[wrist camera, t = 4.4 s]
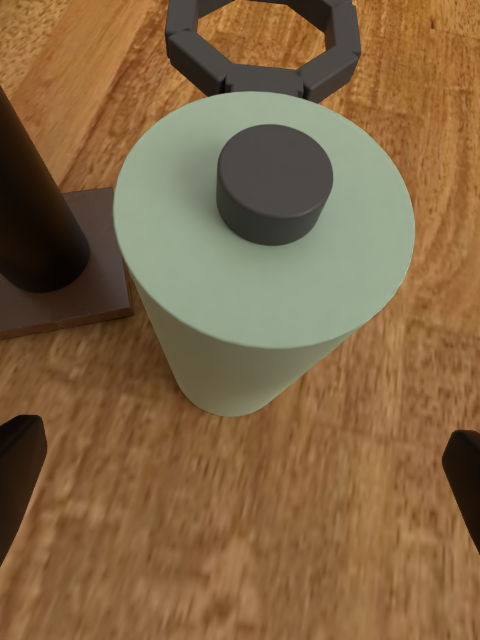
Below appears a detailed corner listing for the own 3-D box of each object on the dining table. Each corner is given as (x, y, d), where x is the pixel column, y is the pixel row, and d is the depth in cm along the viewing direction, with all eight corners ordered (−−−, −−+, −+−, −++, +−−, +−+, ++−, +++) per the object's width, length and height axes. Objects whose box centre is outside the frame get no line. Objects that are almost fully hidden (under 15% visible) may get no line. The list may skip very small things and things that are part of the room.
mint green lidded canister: (288, 419, 20) (473, 341, 6) (166, 414, 19) (67, 320, 6) (285, 213, 24) (387, -100, 10) (185, 206, 24) (156, -131, 10)
